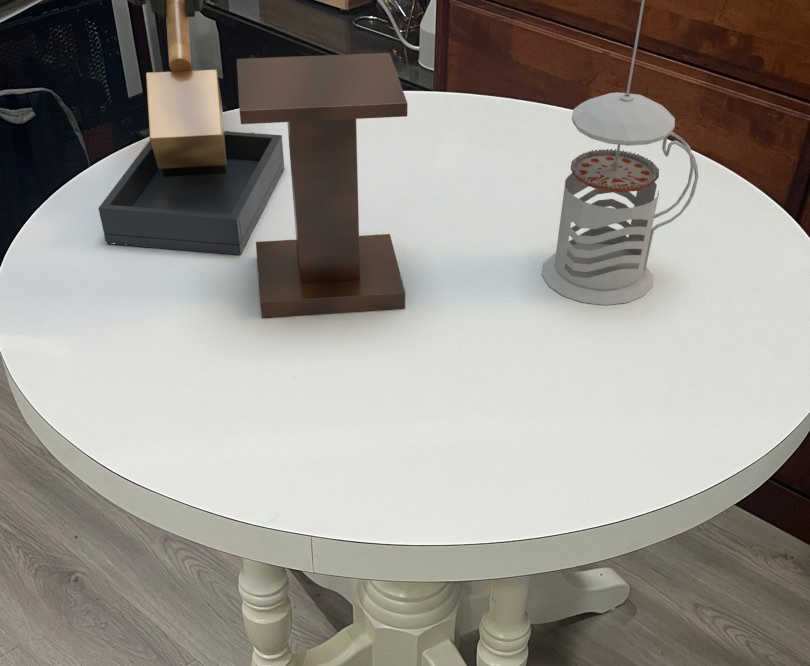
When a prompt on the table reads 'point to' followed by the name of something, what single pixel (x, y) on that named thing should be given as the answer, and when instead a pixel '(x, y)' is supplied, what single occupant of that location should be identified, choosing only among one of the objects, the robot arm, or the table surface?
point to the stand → (324, 181)
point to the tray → (195, 199)
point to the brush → (185, 107)
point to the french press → (620, 173)
